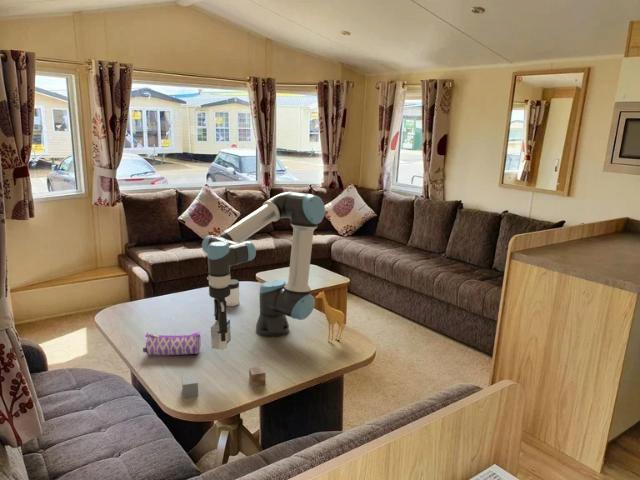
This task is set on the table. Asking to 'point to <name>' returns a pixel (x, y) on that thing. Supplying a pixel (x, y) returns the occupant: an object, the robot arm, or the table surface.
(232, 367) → the table surface
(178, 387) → the table surface
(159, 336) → the pencil case
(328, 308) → the giraffe
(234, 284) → the jar
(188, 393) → the slate grey block
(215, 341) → the medicine box
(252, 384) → the walnut block
